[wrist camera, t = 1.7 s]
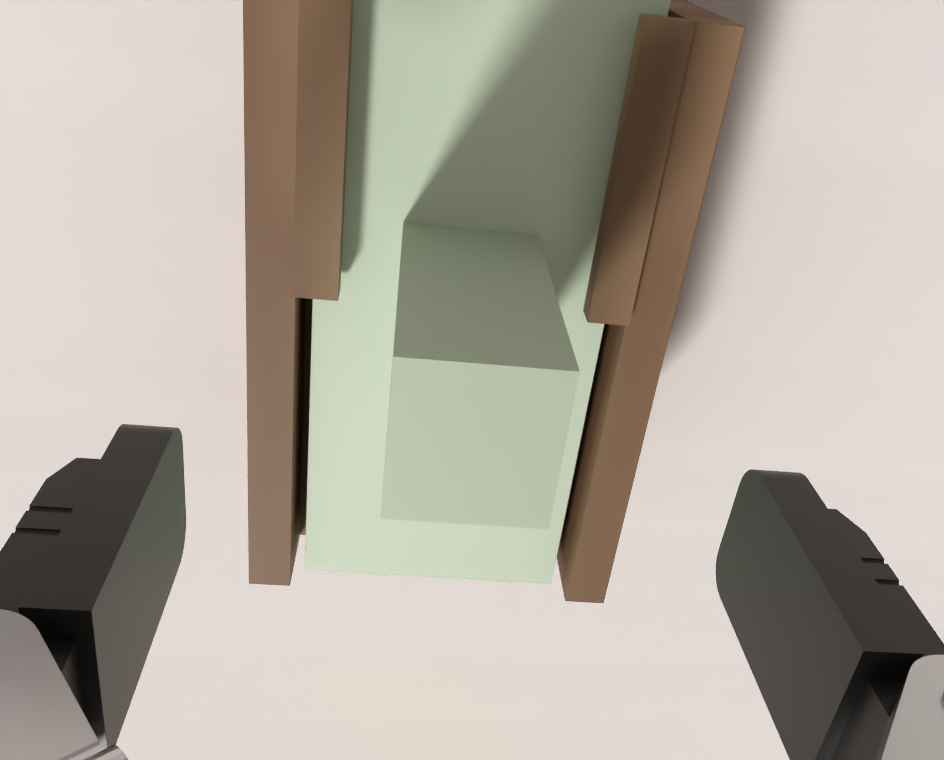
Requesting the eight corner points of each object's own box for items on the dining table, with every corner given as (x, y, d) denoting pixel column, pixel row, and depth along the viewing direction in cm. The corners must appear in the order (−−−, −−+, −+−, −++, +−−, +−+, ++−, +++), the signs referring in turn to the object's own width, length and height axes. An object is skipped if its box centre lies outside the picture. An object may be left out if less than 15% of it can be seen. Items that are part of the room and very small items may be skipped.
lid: (673, -108, 17) (826, -103, 10) (544, 549, 24) (586, 786, 18) (333, -153, 16) (271, -177, 10) (311, 535, 24) (268, 775, 17)
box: (667, -8, 21) (749, 29, 16) (570, 469, 28) (605, 611, 23) (290, -53, 21) (239, -32, 15) (283, 449, 27) (246, 591, 22)
